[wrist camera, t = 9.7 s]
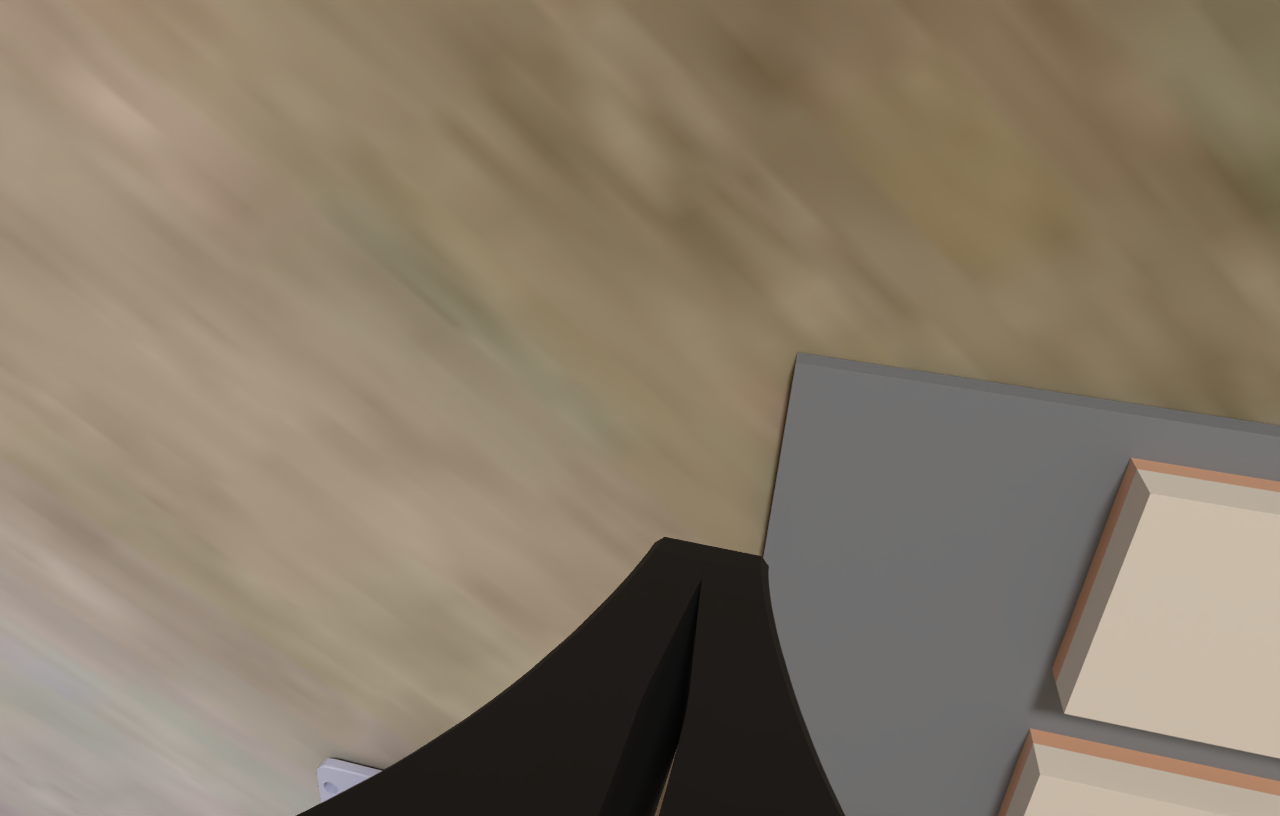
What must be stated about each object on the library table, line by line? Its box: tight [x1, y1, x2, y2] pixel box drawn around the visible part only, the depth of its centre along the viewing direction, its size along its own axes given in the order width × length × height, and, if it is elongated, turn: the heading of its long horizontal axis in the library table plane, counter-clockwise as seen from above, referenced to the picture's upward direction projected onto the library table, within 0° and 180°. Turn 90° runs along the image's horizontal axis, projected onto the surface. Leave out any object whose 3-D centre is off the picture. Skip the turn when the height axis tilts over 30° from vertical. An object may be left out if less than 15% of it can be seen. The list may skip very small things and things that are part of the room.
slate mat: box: [763, 352, 1280, 816], centre depth 23 cm, size 16×15×1 cm
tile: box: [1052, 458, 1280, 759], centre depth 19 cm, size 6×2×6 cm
